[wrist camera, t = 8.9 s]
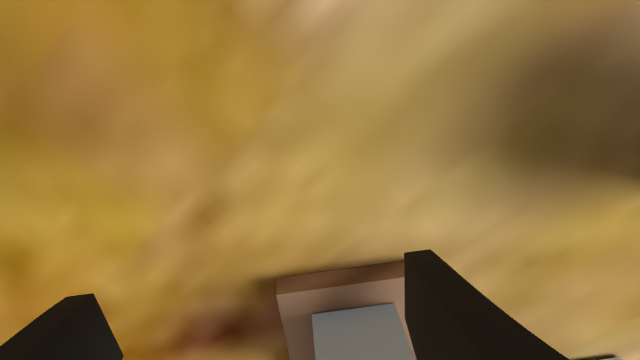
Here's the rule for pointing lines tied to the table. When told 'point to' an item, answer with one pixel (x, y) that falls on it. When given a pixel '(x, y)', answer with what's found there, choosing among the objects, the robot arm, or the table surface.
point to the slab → (335, 299)
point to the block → (361, 334)
